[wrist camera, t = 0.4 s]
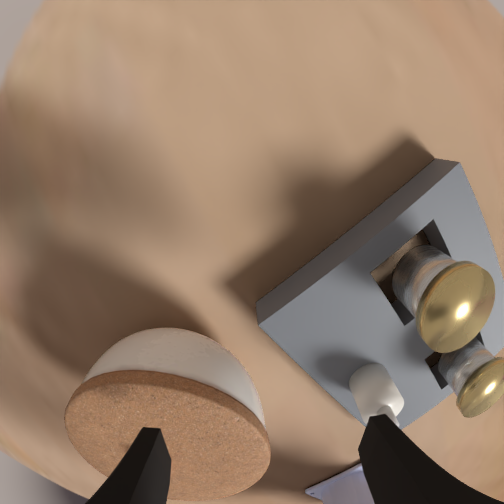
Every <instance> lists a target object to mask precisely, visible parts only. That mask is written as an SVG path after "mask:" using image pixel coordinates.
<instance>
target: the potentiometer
mask: <svg viewBox="0 0 504 504" xmlns="http://www.w3.org/2000/svg"><path fill="white" fill-rule="evenodd" d="M349 387H350V390H351V392H352V395H353V397H354V400H355V402H356V404H357V407H358V409H359V412H360V414H361V417H362V419H363V421H364V423H366V424H367V423H368V420H369V417H370V416H375V415H380V414H386V415H387V416H388V417H389V418H390V419H391V420H392V421H393V422H394V423H395V424H396V425H397V426H398V427H399V422H398V420H397V418H396V416H397V415H398V414H399V413H400V411H401V410H402V408H403V406H404V399H403V398H402V396H401V394H400V392H399V391H398V389H397V387H396V385H395V384H394V382H393V380H392V378H391V377H390V375H389V373H388V371H387V370H386V368H385V367H384V366H383V365H382V364H379V363H370V364H367V365H364V366H362V367H361V368H359V369H358V370H356V371H355V372H354V373H353V375H352V376H351V378H350V380H349Z"/></svg>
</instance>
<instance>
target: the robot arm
mask: <svg viewBox="0 0 504 504" xmlns="http://www.w3.org/2000/svg"><path fill="white" fill-rule="evenodd" d="M358 451H359V456H360V460H361V463H360V464H358V465H356V466H354V467H352V468H350V469H348V470H346V471H344V472H342V473H340V474H338V475H336V476H334V477H332V478H330V479H328V480H326V481H323V482H321V483H319V484H317V485H315V486H312V487H310V488H308V489H306V490H305V493H306V494H308V495H310V496H313V497H315V498H317V499H320V500H322V501H323V504H504V502H501V501H499V500H496V499H493V498H491V497H489V496H487V495H485V494H483V493H481V492H479V491H477V490H475V489H473V488H471V487H469V486H468V485H466V484H464V483H463V482H461V481H460V480H458V479H457V478H455V477H454V476H452V475H451V474H449V473H448V472H447V471H445V470H444V469H443V468H442V467H440V466H439V465H438V464H437V463H435V462H434V461H433V460H432V459H431V458H430V457H428V456H427V455H426V454H425V453H424V452H423V451H422V450H421V449H420V448H419V447H418V446H417V445H416V444H414V443H413V442H412V441H411V440H410V439H409V438H408V437H407V436H406V435H405V433H404V432H403V431H402V430H401V429H400V428H399V427H398V426H397V425H396V424H395V423H394V422H393V421H392V420H391V419H390V418H389V417H388V416H387V415H386V414H380V415H375V416H370V417H369V420H368V423H367V426H366V429H365V432H364V434H363V437H362V440H361V443H360V445H359V448H358ZM170 475H171V457H170V454H169V452H168V449H167V446H166V443H165V440H164V437H163V434H162V431H161V428H151V427H143V428H142V429H141V430H140V432H139V433H138V435H137V437H136V438H135V440H134V442H133V443H132V445H131V446H130V448H129V449H128V451H127V452H126V454H125V455H124V457H123V458H122V460H121V461H120V462H119V464H118V465H117V467H116V468H115V469H114V471H113V472H112V473H111V475H110V476H109V477H108V478H107V480H106V481H105V482H104V483H103V484H102V486H101V487H100V488H99V489H98V490H97V492H96V493H95V494H94V495H93V496H92V497H91V498H90V499H89V500H88V501H87V502H86V503H85V504H166V501H167V496H168V491H169V486H170Z"/></svg>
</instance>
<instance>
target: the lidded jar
mask: <svg viewBox="0 0 504 504" xmlns="http://www.w3.org/2000/svg"><path fill="white" fill-rule="evenodd" d="M64 420H65V427H66V430H67V433H68V436H69V438H70V440H71V442H72V444H73V445H74V447H75V448H76V450H77V451H78V452H79V453H80V455H81V456H82V457H83V458H84V459H85V460H86V461H87V462H88V463H89V464H91V465H92V466H93V467H94V468H95V469H97V470H98V471H99V472H101V473H102V474H104V475H105V476H107V477H109V476H110V475H111V473H112V472H113V471H114V469H115V468H116V467H117V465H118V464H119V462H120V461H121V460H122V458H123V457H124V455H125V454H126V452H127V451H128V449H129V448H130V446H131V445H132V443H133V442H134V440H135V438H136V437H137V435H138V433H139V432H140V430H141V429H142V428H143V427H151V428H161V431H162V434H163V437H164V440H165V443H166V446H167V449H168V452H169V454H170V457H171V475H170V486H169V491H168V496H167V499H172V500H184V501H202V500H212V499H218V498H224V497H227V496H231V495H234V494H236V493H239V492H241V491H244V490H246V489H247V488H249V487H251V486H252V485H253V484H255V483H256V482H257V481H258V480H260V479H261V477H262V476H263V475H264V473H265V472H266V471H267V468H268V466H269V463H270V456H271V451H270V443H269V439H268V434H267V432H266V426H265V420H264V414H263V410H262V405H261V402H260V398H259V395H258V392H257V390H256V388H255V386H254V383H253V381H252V379H251V377H250V375H249V373H248V372H247V371H246V369H245V368H244V366H243V365H242V364H241V362H240V361H239V360H238V359H237V358H236V357H235V356H234V355H233V354H232V353H231V352H230V351H229V350H227V349H226V348H225V347H223V346H222V345H221V344H219V343H218V342H216V341H214V340H212V339H211V338H209V337H207V336H204V335H202V334H199V333H197V332H193V331H189V330H186V329H179V328H155V329H147V330H143V331H139V332H136V333H134V334H132V335H130V336H127V337H125V338H123V339H121V340H120V341H118V342H117V343H115V344H114V345H113V346H111V347H110V348H109V349H108V350H107V351H106V352H104V354H103V355H102V356H101V357H100V358H99V359H98V360H97V362H96V363H95V364H94V365H93V366H92V367H91V369H90V370H89V372H88V373H87V375H86V377H85V378H84V380H83V382H82V384H81V385H80V386H79V387H78V389H77V390H76V391H75V392H74V393H73V395H72V397H71V399H70V401H69V403H68V405H67V407H66V410H65V417H64Z"/></svg>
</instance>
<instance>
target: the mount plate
mask: <svg viewBox="0 0 504 504" xmlns="http://www.w3.org/2000/svg"><path fill="white" fill-rule="evenodd" d="M422 229H423V231H424V233H425V234H426V236H427V238H428V240H429V242H430V244H431V246H433V247H435V248H437V249H438V250H440V251H442V252H443V253H445V254H446V255H448V256H449V257H451V258H453V259H454V260H456V261H457V262H458V261H471V262H473V263H475V264H477V265H479V266H480V267H482V268H483V269H485V270H486V271H488V272H489V273H490V275H491V276H492V278H493V281H494V284H495V301H494V305H493V308H492V311H491V314H490V316H489V318H488V320H487V322H486V323H485V325H484V327H483V328H482V329H481V331H480V332H479V333H478V334H477V335H476V336H475V338H476V339H477V340H478V341H479V342H480V343H481V344H482V345H483V346H484V347H485V348H486V349H487V350H488V351H489V352H490V353H491V354H492V355H493V356H495V355H496V354H497V353H498V352H499V351H500V350H501V349H502V348H503V347H504V280H503V277H502V273H501V269H500V266H499V263H498V259H497V256H496V253H495V250H494V246H493V243H492V240H491V237H490V234H489V232H488V229H487V226H486V223H485V221H484V218H483V215H482V213H481V210H480V207H479V205H478V202H477V200H476V198H475V195H474V193H473V190H472V188H471V186H470V184H469V181H468V179H467V177H466V175H465V172H464V170H463V168H462V166H461V164H460V162H455V161H449V160H443V159H436V158H435V159H434V160H433V161H432V162H431V163H430V164H428V165H427V166H426V167H425V168H424V169H423V170H421V171H420V172H419V173H418V174H417V175H416V176H414V177H413V178H412V179H411V180H410V181H409V182H407V183H406V184H405V185H404V186H403V187H401V188H400V189H399V190H398V191H397V192H395V193H394V194H393V195H392V196H391V197H389V198H388V199H387V200H386V201H385V202H383V203H382V204H381V205H380V206H379V207H377V208H376V209H375V210H374V211H372V212H371V213H370V214H369V215H368V216H366V217H365V218H364V219H363V220H361V221H360V222H359V223H358V224H356V225H355V226H354V227H353V228H351V229H350V230H349V231H348V232H346V233H345V234H344V235H343V236H341V237H340V238H339V239H338V240H336V241H335V242H334V243H333V244H331V245H330V246H329V247H328V248H326V249H325V250H324V251H322V252H321V253H320V254H319V255H317V256H316V257H315V258H314V259H312V260H311V261H310V262H308V263H307V264H306V265H304V266H303V267H302V268H301V269H299V270H298V271H297V272H295V273H294V274H293V275H291V276H290V277H289V278H288V279H286V280H285V281H284V282H282V283H281V284H280V285H278V286H277V287H276V288H274V289H273V290H272V291H270V292H269V293H268V294H266V295H265V296H264V297H262V298H261V299H260V300H258V301H257V302H256V311H257V320H258V326H259V327H260V328H261V329H262V330H263V331H265V332H266V333H267V334H268V335H269V336H270V337H271V338H272V339H273V340H274V341H275V342H276V343H277V344H278V345H279V346H280V347H281V348H282V349H283V350H284V351H285V352H286V353H287V354H288V355H289V356H290V357H291V358H292V359H293V360H294V361H295V362H296V363H297V364H298V365H299V366H300V367H301V368H302V369H304V370H305V371H306V372H307V373H308V374H309V375H310V376H311V377H312V378H313V379H314V380H315V381H316V382H317V383H318V384H319V385H320V386H321V387H323V388H324V389H325V390H326V391H327V392H328V393H329V394H330V395H331V396H332V397H333V398H334V399H335V400H336V401H338V402H339V403H340V404H341V405H342V406H343V407H344V408H345V409H346V410H347V411H348V412H350V413H351V414H352V415H353V416H354V417H355V418H356V419H357V420H358V421H360V422H361V423H362V424H363V425H364V426H365V427H366V426H367V424H366V423H364V421H363V419H362V417H361V414H360V412H359V409H358V407H357V404H356V402H355V400H354V397H353V395H352V392H351V390H350V387H349V380H350V378H351V376H352V375H353V373H354V372H355V371H356V370H358V369H359V368H361V367H362V366H364V365H367V364H370V363H379V364H382V365H383V366H384V367H385V368H386V370H387V371H388V373H389V375H390V377H391V378H392V380H393V382H394V384H395V385H396V387H397V389H398V391H399V392H400V394H401V396H402V398H403V399H404V406H403V408H402V410H401V411H400V413H399V414H398V415H397V416H396V418H397V420H398V422H399V428H400V429H403V428H404V427H406V426H407V425H409V424H410V423H412V422H413V421H415V420H416V419H418V418H419V417H421V416H422V415H423V414H425V413H426V412H428V411H429V410H430V409H432V408H433V407H434V406H436V405H437V404H439V403H440V402H441V401H442V400H444V399H445V398H446V397H448V396H449V395H450V394H451V393H453V392H454V391H453V390H452V388H451V387H450V386H449V384H448V383H447V382H446V380H445V379H444V377H443V376H442V375H441V373H440V372H439V370H438V363H439V362H438V363H437V364H436V365H435V366H433V367H432V368H431V369H429V367H428V365H427V363H426V362H425V360H424V359H426V358H427V357H428V356H430V355H431V354H432V353H433V352H434V350H432V349H431V348H430V347H429V346H428V345H427V344H426V343H425V342H424V340H423V339H422V338H421V337H420V335H419V333H418V331H417V328H416V318H415V317H414V316H413V315H412V314H411V313H410V312H409V311H408V309H407V308H406V307H405V306H404V305H403V304H402V303H401V302H400V301H399V300H398V299H397V300H396V301H395V302H394V303H392V304H390V303H389V301H388V300H387V298H386V297H385V295H384V294H383V292H382V290H381V289H380V287H379V286H378V284H377V283H376V281H375V280H374V278H373V277H372V275H371V274H370V272H371V271H373V270H374V269H375V268H376V267H378V266H379V265H380V264H381V263H383V262H384V261H385V260H386V259H387V258H389V257H390V256H391V255H392V254H393V253H395V252H396V251H397V250H398V249H399V248H401V247H402V246H403V245H404V244H405V243H407V242H408V241H409V240H410V239H411V238H412V237H414V236H415V235H416V234H417V233H418V232H419V231H420V230H422Z"/></svg>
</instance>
